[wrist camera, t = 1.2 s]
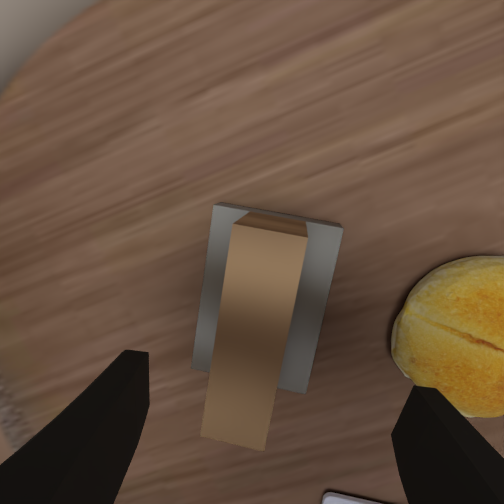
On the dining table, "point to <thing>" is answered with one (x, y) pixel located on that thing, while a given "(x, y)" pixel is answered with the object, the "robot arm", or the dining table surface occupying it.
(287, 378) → the scraper
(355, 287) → the dining table surface
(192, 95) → the dining table surface
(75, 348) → the dining table surface
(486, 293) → the bread roll
